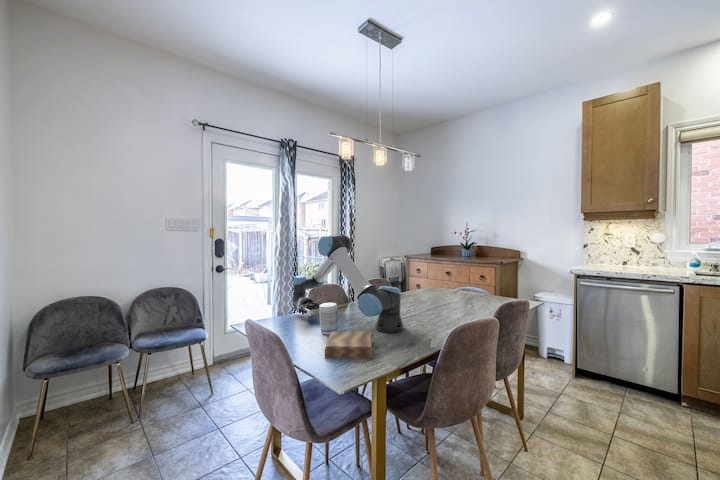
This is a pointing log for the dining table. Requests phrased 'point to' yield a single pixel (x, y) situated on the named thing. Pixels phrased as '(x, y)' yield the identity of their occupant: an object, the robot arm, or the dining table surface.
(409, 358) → the dining table surface
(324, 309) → the supplement tub
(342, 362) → the dining table surface
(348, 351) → the wooden square block
